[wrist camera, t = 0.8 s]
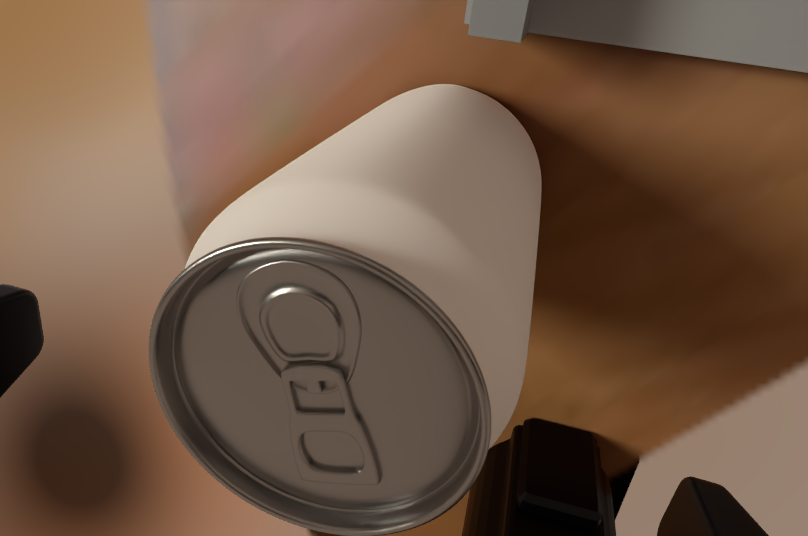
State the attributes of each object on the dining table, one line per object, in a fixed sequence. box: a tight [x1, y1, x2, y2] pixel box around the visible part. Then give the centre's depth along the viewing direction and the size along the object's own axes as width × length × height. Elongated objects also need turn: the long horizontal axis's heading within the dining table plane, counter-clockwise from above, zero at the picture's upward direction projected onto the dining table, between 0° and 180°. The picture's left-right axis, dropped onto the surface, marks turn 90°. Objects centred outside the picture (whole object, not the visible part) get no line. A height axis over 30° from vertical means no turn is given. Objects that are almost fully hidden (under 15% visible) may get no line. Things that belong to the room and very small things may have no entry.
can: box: [149, 84, 542, 536], centre depth 14 cm, size 6×6×12 cm
